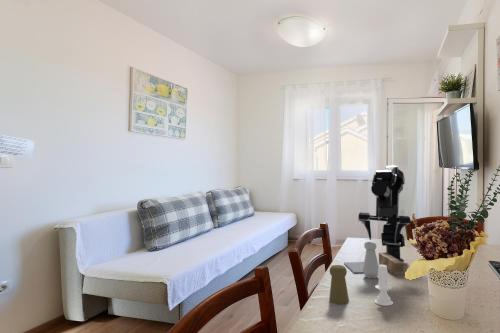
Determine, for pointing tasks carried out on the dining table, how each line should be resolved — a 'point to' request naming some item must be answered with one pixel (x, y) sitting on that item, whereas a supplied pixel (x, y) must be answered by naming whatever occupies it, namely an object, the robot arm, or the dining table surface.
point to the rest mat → (355, 266)
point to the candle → (383, 287)
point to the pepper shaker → (338, 285)
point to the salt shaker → (370, 261)
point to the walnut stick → (391, 263)
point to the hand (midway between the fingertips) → (382, 241)
